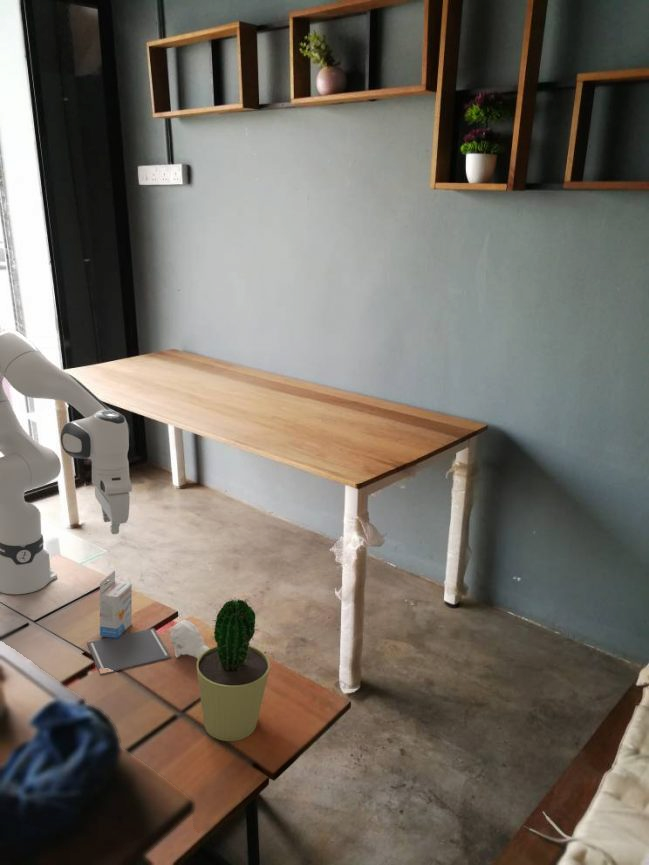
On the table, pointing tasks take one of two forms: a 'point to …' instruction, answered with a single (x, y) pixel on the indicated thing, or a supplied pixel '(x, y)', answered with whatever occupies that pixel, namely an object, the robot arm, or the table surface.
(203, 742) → the table surface
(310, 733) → the table surface
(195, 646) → the white irregular lumpy piece
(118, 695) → the table surface
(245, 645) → the potted cactus
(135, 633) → the mat
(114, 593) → the ink box
